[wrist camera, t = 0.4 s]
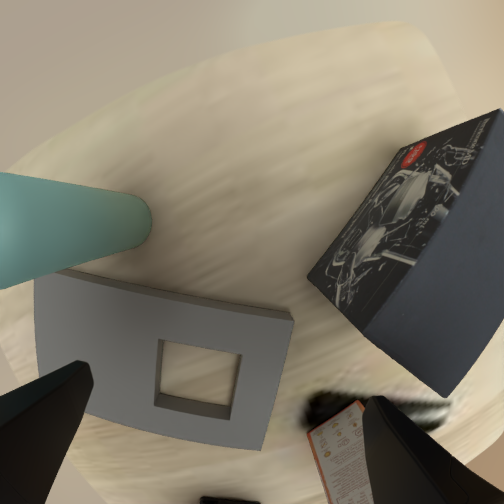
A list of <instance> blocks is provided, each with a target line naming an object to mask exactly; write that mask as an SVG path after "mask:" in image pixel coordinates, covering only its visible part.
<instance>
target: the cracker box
mask: <svg viewBox="0 0 504 504" xmlns="http://www.w3.org/2000/svg"><path fill="white" fill-rule="evenodd" d="M364 409H365V408H364V406H363V405H362V404H361V403H360V402H359V400H356V401H355V402H353V403H352V404H351V405H349V406H348V407H346V408H345V409H344V410H342V411H341V412H339V413H338V414H336V415H335V416H333V417H332V418H330V419H329V420H327V421H326V422H324V423H323V424H321V425H319V426H318V427H316V428H315V429H313V430H311V431H310V432H308V433H307V437H308V440H309V443H310V446H311V449H312V452H313V455H314V459H315V462H316V465H317V468H318V472H319V475H320V478H321V481H322V484H323V487H324V491H325V494H326V497H327V500H328V503H329V504H374V502H373V497H372V491H371V486H370V480H369V475H368V470H367V465H366V459H365V449H364V437H363V425H362V414H363V412H364Z"/></svg>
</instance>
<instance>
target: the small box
mask: <svg viewBox="0 0 504 504" xmlns="http://www.w3.org/2000/svg"><path fill="white" fill-rule="evenodd" d="M307 279H308V280H309V281H310V282H312V283H313V285H314V286H316V287H317V288H318V289H319V290H320V291H321V292H322V293H323V295H324V296H325V297H326V298H328V299H329V300H330V301H331V303H332V304H333V305H334V306H335V307H336V308H337V309H338V310H339V311H340V312H341V313H342V314H343V315H344V316H345V317H346V318H347V319H348V320H349V321H350V322H351V323H352V324H353V325H354V326H355V327H356V328H357V329H358V330H359V331H360V332H361V333H362V334H363V336H364V337H366V338H367V339H368V340H369V341H371V342H372V343H373V344H374V345H375V346H376V347H377V348H379V349H381V350H382V351H383V352H385V353H386V354H387V355H389V356H390V357H391V358H392V359H394V360H395V361H396V362H398V363H399V364H400V365H402V366H403V367H404V368H405V369H407V370H408V371H409V372H410V373H412V374H413V375H414V376H416V377H417V378H418V379H419V380H420V381H422V382H423V383H424V384H426V385H427V386H429V387H430V388H431V389H432V390H434V391H435V392H437V393H438V394H439V395H440V396H441V397H443V398H447V397H448V396H449V395H450V394H451V393H452V391H453V390H454V389H455V388H456V386H457V385H458V384H459V383H460V381H461V380H462V379H463V378H464V376H465V375H466V374H467V372H468V371H469V370H470V368H471V367H472V366H473V364H474V363H475V362H476V360H477V359H478V357H479V356H480V354H481V353H482V352H483V350H484V349H485V347H486V346H487V344H488V343H489V341H490V340H491V338H492V337H493V335H494V334H495V332H496V330H497V329H498V327H499V326H500V324H501V322H502V321H503V319H504V111H503V110H502V109H501V108H499V109H497V110H494V111H492V112H489V113H487V114H484V115H482V116H479V117H477V118H474V119H471V120H469V121H467V122H464V123H461V124H459V125H456V126H453V127H451V128H449V129H446V130H444V131H441V132H439V133H437V134H434V135H432V136H429V137H427V138H424V139H422V140H420V141H417V142H415V143H413V144H410V145H408V146H405V147H403V148H401V149H400V150H399V152H398V153H397V155H396V156H395V158H394V159H393V161H392V162H391V163H390V165H389V166H388V168H387V169H386V171H385V172H384V174H383V175H382V176H381V178H380V179H379V181H378V182H377V183H376V185H375V186H374V188H373V189H372V190H371V192H370V193H369V195H368V196H367V197H366V199H365V200H364V202H363V203H362V204H361V206H360V207H359V209H358V210H357V211H356V212H355V214H354V215H353V217H352V218H351V219H350V221H349V222H348V223H347V225H346V226H345V227H344V229H343V230H342V231H341V233H340V234H339V235H338V237H337V238H336V239H335V241H334V242H333V243H332V245H331V246H330V247H329V248H328V250H327V251H326V252H325V254H324V255H323V256H322V258H321V259H320V260H319V261H318V263H317V264H316V265H315V266H314V268H313V269H312V270H311V272H310V273H309V274H308V275H307Z"/></svg>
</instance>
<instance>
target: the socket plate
mask: <svg viewBox="0 0 504 504" xmlns="http://www.w3.org/2000/svg"><path fill="white" fill-rule="evenodd" d="M34 324H35V341H36V353H37V363H38V371H39V378H40V377H42V376H44V375H46V374H49V373H51V372H53V371H55V370H57V369H59V368H61V367H63V366H65V365H67V364H69V363H71V362H73V361H76V360H81V361H85V362H87V363H89V365H90V368H91V372H92V376H93V379H94V387H93V390H92V392H91V395H90V398H89V401H88V403H87V406H86V409H85V413H88V414H90V415H93V416H96V417H99V418H102V419H105V420H108V421H112V422H115V423H118V424H122V425H125V426H128V427H132V428H136V429H139V430H143V431H147V432H151V433H155V434H159V435H163V436H168V437H172V438H177V439H182V440H187V441H192V442H198V443H204V444H210V445H216V446H223V447H230V448H238V449H247V450H257V451H261V448H262V444H263V441H264V438H265V434H266V431H267V427H268V423H269V420H270V416H271V413H272V409H273V405H274V401H275V398H276V394H277V390H278V386H279V382H280V379H281V375H282V371H283V367H284V363H285V359H286V354H287V350H288V346H289V342H290V338H291V333H292V329H293V325H294V320H293V318H292V316H291V314H290V313H289V312H283V311H276V310H270V309H263V308H257V307H251V306H245V305H239V304H233V303H228V302H222V301H216V300H211V299H205V298H200V297H194V296H189V295H184V294H179V293H174V292H169V291H164V290H159V289H154V288H149V287H144V286H140V285H135V284H130V283H126V282H121V281H117V280H112V279H108V278H104V277H99V276H95V275H91V274H87V273H83V272H78V271H74V270H70V269H63V270H60V271H57V272H54V273H51V274H47V275H44V276H41V277H38V278H35V279H34ZM164 340H166V341H171V342H176V343H181V344H186V345H191V346H196V347H201V348H207V349H212V350H218V351H224V352H230V353H236V354H241V355H240V360H239V366H238V371H237V376H236V381H235V386H234V392H233V397H232V402H231V407H229V406H222V405H216V404H210V403H204V402H199V401H193V400H188V399H183V398H178V397H174V396H169V395H164V394H160V393H159V391H160V376H161V363H162V352H163V341H164Z"/></svg>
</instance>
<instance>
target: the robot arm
mask: <svg viewBox="0 0 504 504" xmlns="http://www.w3.org/2000/svg"><path fill="white" fill-rule="evenodd" d="M93 387H94V379H93V376H92V372H91V368H90V365H89V363H87V362H85V361H81V360H76V361H73V362H71V363H69V364H67V365H65V366H63V367H61V368H59V369H57V370H55V371H53V372H51V373H49V374H46V375H44V376H42V377H40V378H38V379H36V380H34V381H32V382H30V383H27V384H25V385H23V386H21V387H19V388H17V389H15V390H13V391H10V392H9V393H6V394H4V395H2V396H0V504H45V502H46V499H47V497H48V494H49V492H50V489H51V487H52V485H53V482H54V480H55V477H56V475H57V473H58V470H59V468H60V466H61V464H62V462H63V459H64V457H65V455H66V453H67V451H68V448H69V446H70V444H71V442H72V440H73V438H74V436H75V434H76V431H77V429H78V427H79V425H80V423H81V420H82V418H83V415H84V412H85V409H86V406H87V403H88V401H89V398H90V395H91V392H92V390H93ZM362 425H363V437H364V449H365V459H366V465H367V470H368V475H369V480H370V486H371V491H372V497H373V502H374V504H504V492H503V491H501V490H499V489H498V488H496V487H495V486H493V485H492V484H490V483H489V482H487V481H486V480H484V479H483V478H481V477H479V476H478V475H477V474H475V473H474V472H472V471H471V470H470V469H468V468H467V467H466V466H465V465H463V464H462V463H461V462H460V461H459V460H457V459H456V458H455V457H454V456H452V455H451V454H450V453H449V452H448V451H447V450H445V449H444V448H443V447H442V446H441V445H440V444H438V443H437V442H436V441H435V440H434V439H433V438H431V437H430V436H429V435H428V434H427V433H426V432H424V431H423V430H422V429H421V428H420V427H419V426H418V425H416V424H415V423H414V422H413V421H412V420H411V419H409V418H408V417H407V416H406V415H405V414H404V413H403V412H401V411H400V410H399V409H398V408H397V407H396V406H395V405H393V404H392V403H391V402H390V401H389V400H388V399H387V398H386V397H384V396H371V397H370V398H369V400H368V403H367V405H366V407H365V409H364V412H363V414H362ZM200 504H260V503H256V502H243V501H232V500H223V499H215V498H208V497H202V498H201V499H200Z"/></svg>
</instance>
